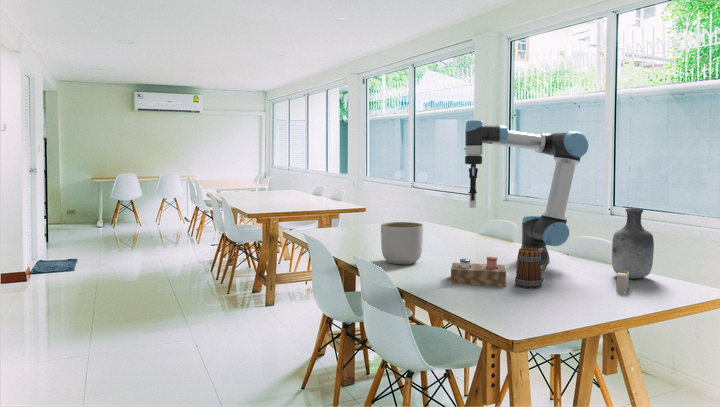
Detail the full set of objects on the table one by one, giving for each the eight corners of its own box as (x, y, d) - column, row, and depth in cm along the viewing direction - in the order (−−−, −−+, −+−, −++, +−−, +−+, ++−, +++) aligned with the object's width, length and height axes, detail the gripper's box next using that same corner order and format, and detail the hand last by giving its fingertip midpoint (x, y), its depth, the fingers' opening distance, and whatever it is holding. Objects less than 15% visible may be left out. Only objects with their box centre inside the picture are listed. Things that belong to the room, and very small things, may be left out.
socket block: (504, 278, 228) (504, 264, 227) (505, 286, 214) (506, 271, 214) (452, 276, 233) (452, 262, 232) (450, 283, 219) (451, 269, 218)
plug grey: (470, 279, 226) (470, 258, 225) (469, 281, 222) (470, 260, 221) (459, 279, 227) (460, 258, 226) (459, 281, 223) (459, 260, 222)
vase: (618, 271, 241) (621, 206, 238) (657, 277, 229) (660, 208, 227) (605, 277, 230) (607, 208, 227) (644, 283, 218) (648, 211, 215)
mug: (528, 290, 208) (529, 252, 207) (509, 284, 218) (510, 248, 216) (556, 285, 216) (557, 249, 214) (537, 280, 225) (538, 245, 223)
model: (616, 292, 206) (617, 273, 205) (619, 287, 215) (620, 268, 214) (625, 293, 204) (626, 274, 204) (628, 288, 213) (629, 269, 213)
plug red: (496, 277, 224) (497, 257, 223) (497, 280, 219) (497, 259, 219) (486, 277, 225) (486, 256, 224) (486, 279, 220) (486, 258, 220)
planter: (374, 265, 256) (374, 226, 254) (388, 257, 275) (388, 221, 273) (416, 268, 248) (416, 228, 246) (427, 260, 267) (427, 223, 266)
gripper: (465, 155, 244) (464, 206, 246) (464, 155, 231) (463, 208, 233) (482, 155, 242) (481, 206, 244) (482, 155, 229) (481, 209, 232)
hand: (472, 207), depth 239 cm, fingers closed
